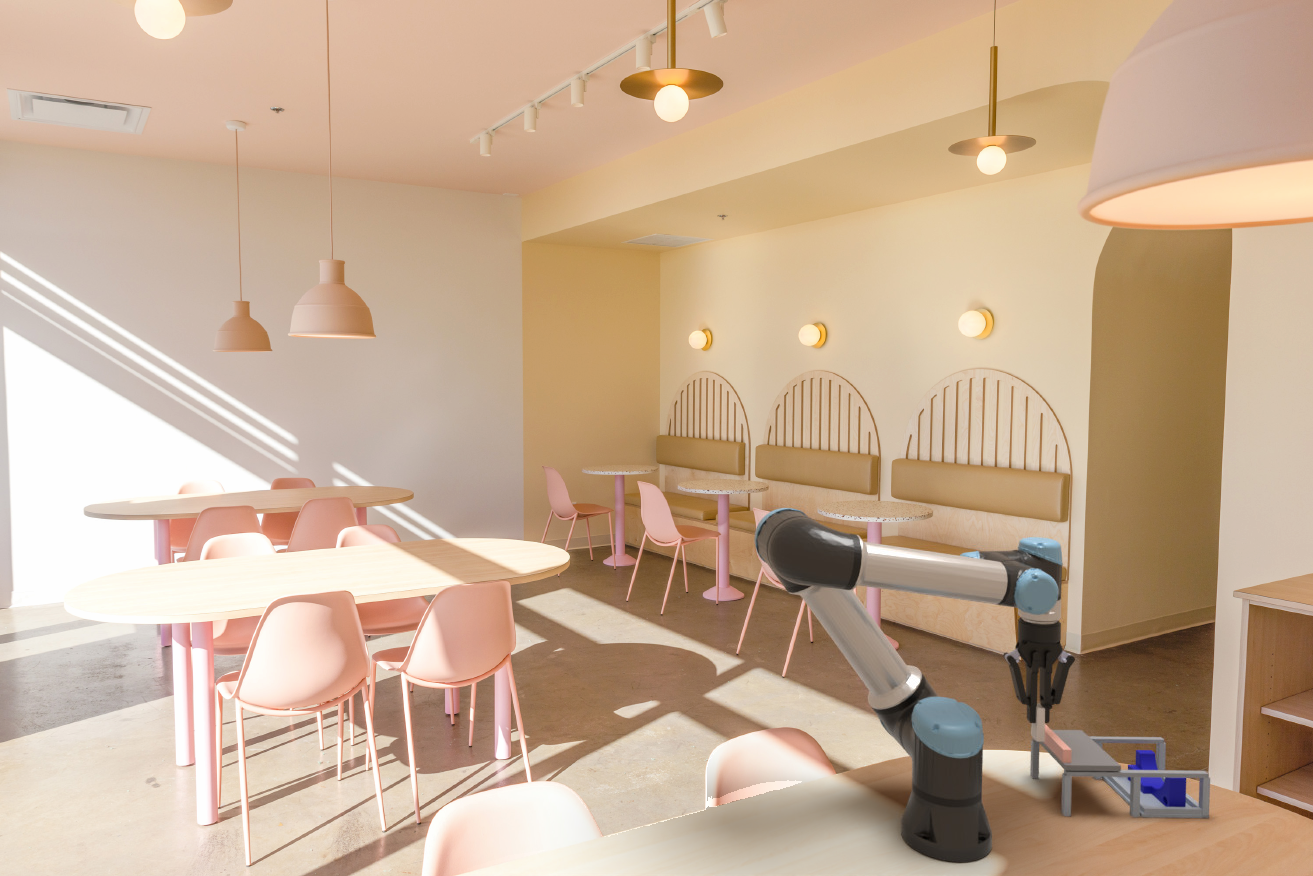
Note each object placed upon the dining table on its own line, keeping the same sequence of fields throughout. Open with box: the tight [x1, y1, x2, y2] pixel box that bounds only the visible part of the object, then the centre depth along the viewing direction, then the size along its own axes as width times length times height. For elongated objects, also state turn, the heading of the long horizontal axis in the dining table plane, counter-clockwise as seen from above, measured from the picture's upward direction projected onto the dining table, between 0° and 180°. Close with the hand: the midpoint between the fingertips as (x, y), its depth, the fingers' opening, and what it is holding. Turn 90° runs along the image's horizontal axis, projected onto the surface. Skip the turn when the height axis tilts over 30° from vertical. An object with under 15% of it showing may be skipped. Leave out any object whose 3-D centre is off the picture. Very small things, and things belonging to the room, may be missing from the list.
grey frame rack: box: [1029, 735, 1211, 819], centre depth 164 cm, size 26×16×8 cm, turn 87°
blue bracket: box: [1127, 749, 1187, 807], centre depth 164 cm, size 12×4×6 cm, turn 178°
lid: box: [1039, 723, 1122, 771], centre depth 164 cm, size 10×16×4 cm, turn 177°
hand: (1037, 738), depth 164 cm, fingers closed
